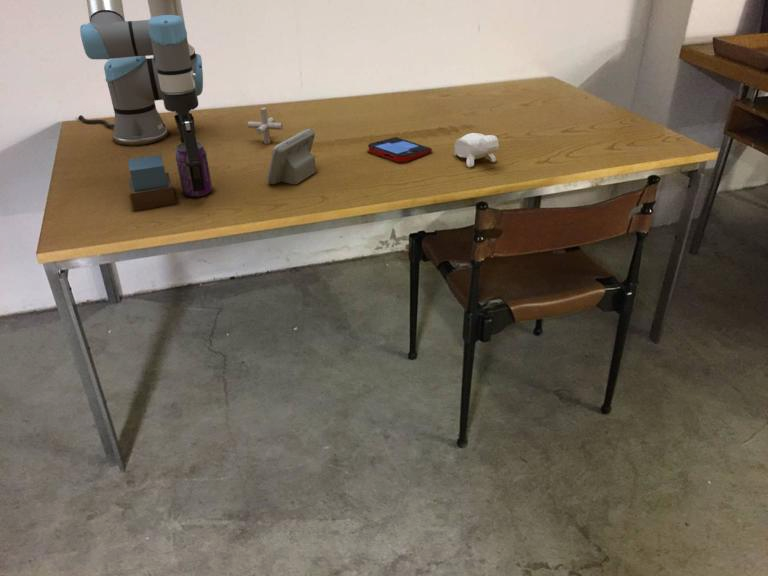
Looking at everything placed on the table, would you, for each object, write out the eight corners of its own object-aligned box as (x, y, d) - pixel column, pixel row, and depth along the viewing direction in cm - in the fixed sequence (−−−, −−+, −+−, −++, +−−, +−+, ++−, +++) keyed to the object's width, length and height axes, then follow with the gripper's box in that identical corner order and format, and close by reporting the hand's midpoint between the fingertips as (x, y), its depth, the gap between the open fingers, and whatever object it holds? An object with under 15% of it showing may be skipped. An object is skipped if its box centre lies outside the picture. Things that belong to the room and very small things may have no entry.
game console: (433, 152, 177) (433, 144, 176) (401, 165, 170) (401, 157, 168) (396, 140, 186) (396, 132, 184) (364, 151, 178) (364, 144, 177)
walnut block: (132, 195, 156) (127, 178, 153) (171, 189, 159) (168, 172, 156) (134, 211, 148) (130, 193, 146) (176, 204, 151) (172, 186, 149)
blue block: (132, 179, 153) (127, 159, 150) (164, 174, 155) (160, 154, 152) (134, 191, 147) (129, 170, 144) (168, 185, 149) (163, 165, 147)
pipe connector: (277, 149, 181) (274, 114, 175) (244, 147, 182) (240, 113, 177) (289, 137, 189) (285, 104, 183) (257, 135, 190) (253, 102, 185)
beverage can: (218, 189, 158) (210, 143, 152) (200, 200, 153) (191, 153, 146) (195, 184, 161) (187, 139, 154) (177, 195, 155) (167, 148, 149)
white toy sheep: (452, 168, 175) (482, 166, 161) (447, 137, 173) (477, 132, 159) (478, 162, 178) (510, 160, 165) (474, 132, 176) (505, 127, 163)
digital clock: (304, 162, 172) (301, 124, 166) (328, 171, 167) (326, 131, 161) (258, 181, 162) (253, 141, 156) (282, 191, 157) (278, 150, 151)
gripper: (203, 102, 135) (219, 197, 147) (188, 76, 153) (204, 162, 165) (167, 107, 133) (186, 202, 145) (156, 79, 151) (174, 166, 163)
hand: (195, 181), depth 155 cm, fingers open, 11 cm apart
